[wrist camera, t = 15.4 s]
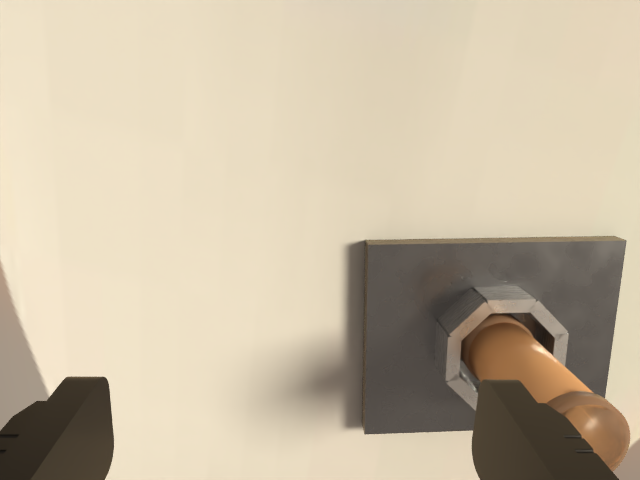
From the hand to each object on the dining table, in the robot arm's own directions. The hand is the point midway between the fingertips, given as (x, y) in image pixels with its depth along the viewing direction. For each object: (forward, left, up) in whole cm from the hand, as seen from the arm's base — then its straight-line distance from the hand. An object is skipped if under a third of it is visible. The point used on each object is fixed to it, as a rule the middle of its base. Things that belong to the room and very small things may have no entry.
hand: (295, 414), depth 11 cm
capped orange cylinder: (+11, +16, -27) cm, 33 cm away
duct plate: (+11, +16, -29) cm, 34 cm away
